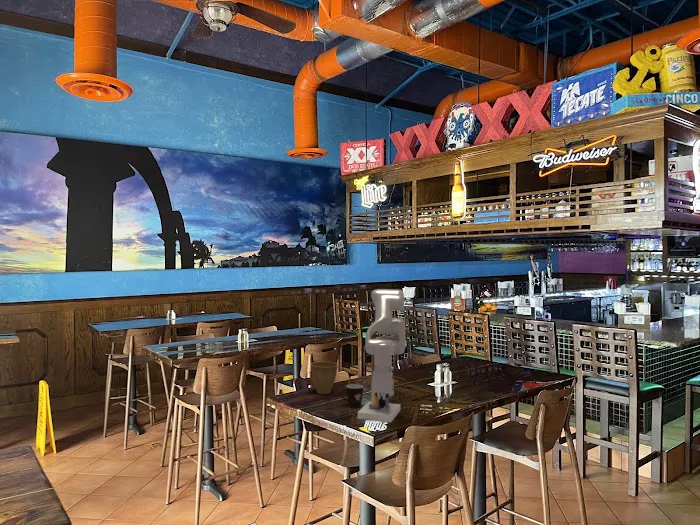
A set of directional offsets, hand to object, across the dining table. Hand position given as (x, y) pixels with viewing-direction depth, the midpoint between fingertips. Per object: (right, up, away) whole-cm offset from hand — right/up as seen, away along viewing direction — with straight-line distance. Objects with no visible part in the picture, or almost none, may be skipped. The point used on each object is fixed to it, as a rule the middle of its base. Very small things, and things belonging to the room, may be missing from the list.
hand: (382, 407), depth 247 cm
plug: (-3, -5, +6) cm, 8 cm away
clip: (+3, -2, +4) cm, 5 cm away
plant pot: (-29, -4, +44) cm, 53 cm away
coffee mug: (-14, -5, +19) cm, 24 cm away
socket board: (-1, -5, +5) cm, 7 cm away
